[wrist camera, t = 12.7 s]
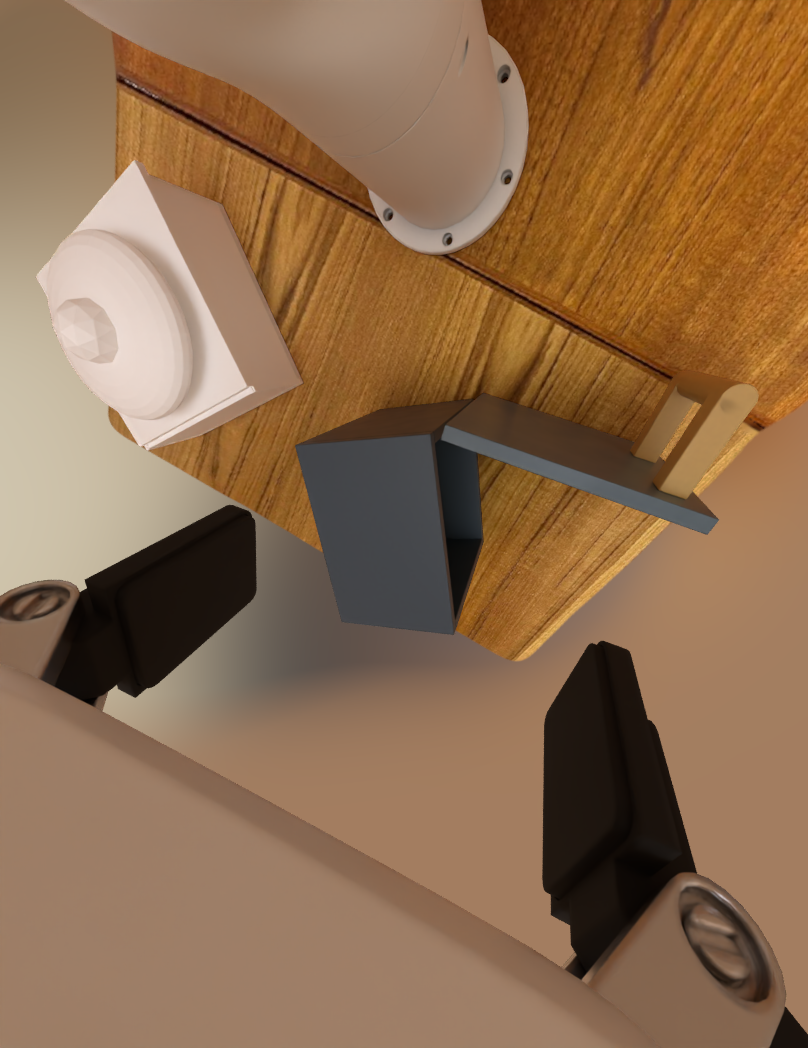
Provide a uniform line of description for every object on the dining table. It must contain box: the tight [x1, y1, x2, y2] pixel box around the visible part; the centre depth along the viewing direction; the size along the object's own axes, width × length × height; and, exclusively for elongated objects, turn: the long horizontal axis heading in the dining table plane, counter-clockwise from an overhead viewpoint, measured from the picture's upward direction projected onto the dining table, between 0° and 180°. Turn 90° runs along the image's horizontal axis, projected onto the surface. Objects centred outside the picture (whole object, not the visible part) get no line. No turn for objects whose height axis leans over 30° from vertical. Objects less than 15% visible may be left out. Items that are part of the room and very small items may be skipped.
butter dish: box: [36, 160, 303, 451], centre depth 36 cm, size 18×18×16 cm
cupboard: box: [295, 399, 484, 635], centre depth 34 cm, size 10×16×16 cm, turn 9°
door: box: [441, 370, 759, 534], centre depth 26 cm, size 7×16×15 cm, turn 75°
